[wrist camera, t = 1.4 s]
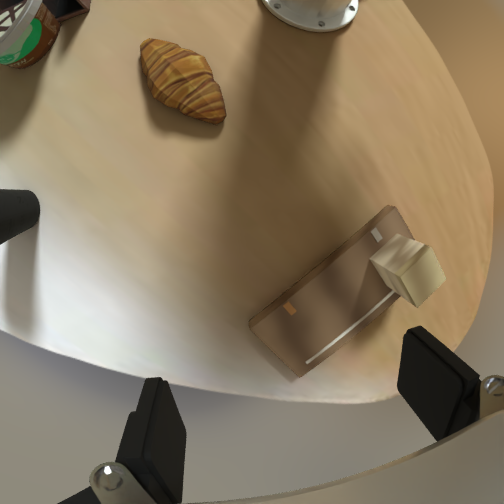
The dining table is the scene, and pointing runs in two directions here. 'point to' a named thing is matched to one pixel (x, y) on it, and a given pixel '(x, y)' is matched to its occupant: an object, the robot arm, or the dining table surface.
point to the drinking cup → (17, 212)
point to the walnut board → (331, 299)
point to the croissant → (182, 80)
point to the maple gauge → (409, 268)
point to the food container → (26, 33)
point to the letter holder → (57, 7)
